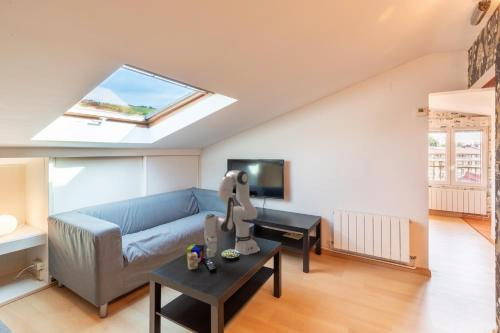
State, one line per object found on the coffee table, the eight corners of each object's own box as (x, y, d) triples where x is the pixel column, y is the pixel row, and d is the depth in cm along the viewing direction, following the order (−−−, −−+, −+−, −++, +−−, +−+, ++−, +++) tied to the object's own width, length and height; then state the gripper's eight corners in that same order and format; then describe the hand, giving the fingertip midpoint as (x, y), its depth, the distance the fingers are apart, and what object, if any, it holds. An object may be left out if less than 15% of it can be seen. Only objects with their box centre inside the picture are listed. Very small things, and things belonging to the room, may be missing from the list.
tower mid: (195, 258, 192) (195, 252, 192) (197, 261, 187) (197, 255, 186) (187, 259, 190) (187, 253, 189) (189, 263, 184) (189, 256, 184)
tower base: (195, 264, 193) (195, 258, 192) (197, 268, 187) (197, 261, 187) (187, 266, 190) (187, 259, 190) (189, 269, 185) (189, 263, 184)
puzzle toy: (198, 262, 196) (198, 250, 196) (186, 261, 198) (186, 249, 198) (203, 257, 206) (203, 245, 206) (192, 256, 208) (192, 244, 208)
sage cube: (212, 253, 196) (212, 247, 196) (214, 256, 192) (214, 250, 191) (206, 254, 194) (206, 248, 194) (208, 257, 190) (208, 251, 189)
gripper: (202, 232, 199) (203, 248, 201) (209, 241, 181) (209, 260, 182) (210, 230, 202) (211, 247, 203) (218, 240, 183) (218, 258, 185)
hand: (210, 253), depth 193 cm, fingers closed on sage cube, 5 cm apart
